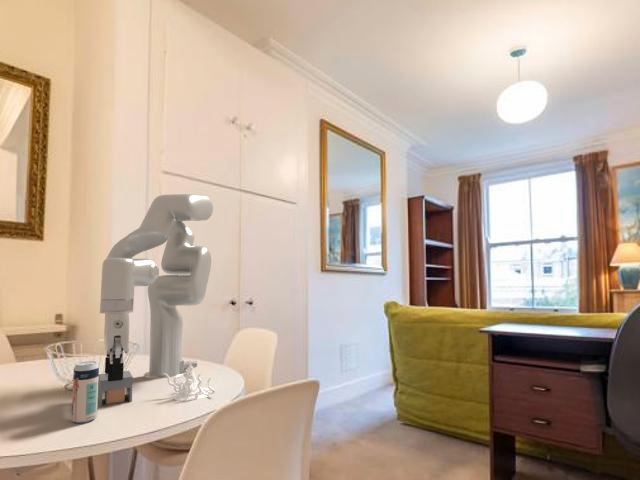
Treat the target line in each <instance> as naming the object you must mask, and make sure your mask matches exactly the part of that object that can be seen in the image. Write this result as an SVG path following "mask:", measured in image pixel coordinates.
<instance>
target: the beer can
mask: <svg viewBox="0 0 640 480" xmlns="http://www.w3.org/2000/svg"><path fill="white" fill-rule="evenodd" d="M99 369H100V366H99V365H98V362H97V361H89V360H88V361H82V362H78V363H76V364H75V365H74V367H73V373H72V374H73V378H72V379H73V381H72V401H71V421H72V422H74V423H76V424H86V423H88V422H89V423H90V422H92V421H94V419H96V418H97V417H98V407H99V402H98V380H99V374H100V372H99V371H100V370H99Z"/></svg>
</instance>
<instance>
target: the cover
mask: <svg viewBox="0 0 640 480" xmlns="http://www.w3.org/2000/svg"><path fill="white" fill-rule="evenodd" d="M122 388H125V391H126V392H125V394H126V396H127V399H128V401H129V403H132V402H133V375H132V373H131V372H130V370H123V379H122V380H119V381H110V382H109V381H108V373H107V374H106V373H101V374H100V373H99V378H98V407H100V408H101V407H103V392H105V391H108V390H115V389H122Z"/></svg>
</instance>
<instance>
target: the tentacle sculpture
mask: <svg viewBox="0 0 640 480" xmlns="http://www.w3.org/2000/svg"><path fill="white" fill-rule="evenodd" d="M188 361H189V367H188V368H187V370H186V371H187V374H186V376H184V377H185V381H181V382H179V381H178V382H177V379H179V378H181V376H176V377H173V378H174V379H173V382H171V380H170V379H171V377H170V378H169V376H168V375H167V374H166V373H163V374H165V375H166V376H167V378H166V379H167V383H168V385H170V386H171V387H173V390H174V392H176V393H174V394H172V398H173V400H175V401H181V402H182V401H187V402H188V401H193V400H194V401H195V400H200V399H203V398H208V397H210V395H213V394H215V393H216V392H215V389H214V388H213V387H211V386H210V381H211V378H212V377H209V378H208V380H207V381H206V383H207V384H206V387H207V388H206V387H201V384H202V382H203V381H202V379H201V377H200V376H201V375H202V373H200V374H198V375H197V377H196V374H195V373H196V372H195V371H194V368H193V366H191V362H192V361H191V359H189V360H188Z"/></svg>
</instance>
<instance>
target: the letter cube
mask: <svg viewBox="0 0 640 480" xmlns="http://www.w3.org/2000/svg"><path fill="white" fill-rule="evenodd" d="M125 391H126V388H122V389H115V390H108V391H104V401H105V405H108V404H114V403H120V402H121V403H122V402H126V401H125V400H126V399H125V398H126V397H125V394H126V392H125Z"/></svg>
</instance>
